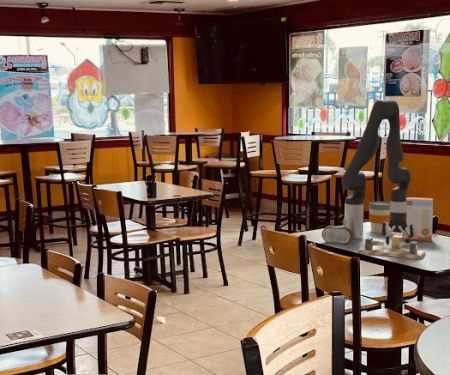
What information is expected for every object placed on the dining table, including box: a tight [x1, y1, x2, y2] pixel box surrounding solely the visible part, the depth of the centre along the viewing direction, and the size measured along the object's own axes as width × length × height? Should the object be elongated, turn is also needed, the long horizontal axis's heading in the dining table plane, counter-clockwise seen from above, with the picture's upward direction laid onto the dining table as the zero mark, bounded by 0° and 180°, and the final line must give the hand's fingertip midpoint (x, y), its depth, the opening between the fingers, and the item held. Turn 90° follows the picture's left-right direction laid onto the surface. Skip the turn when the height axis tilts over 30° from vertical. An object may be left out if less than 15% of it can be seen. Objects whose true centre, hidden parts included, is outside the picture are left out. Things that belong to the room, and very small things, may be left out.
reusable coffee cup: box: [368, 200, 391, 234], centre depth 366 cm, size 13×13×15 cm
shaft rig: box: [357, 237, 426, 260], centre depth 313 cm, size 28×10×6 cm, turn 63°
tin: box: [321, 225, 354, 245], centre depth 336 cm, size 15×3×8 cm, turn 65°
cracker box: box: [402, 196, 434, 242], centre depth 343 cm, size 14×6×21 cm, turn 71°
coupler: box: [391, 234, 404, 249], centre depth 323 cm, size 5×4×6 cm
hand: (397, 245), depth 323 cm, fingers open, 8 cm apart
